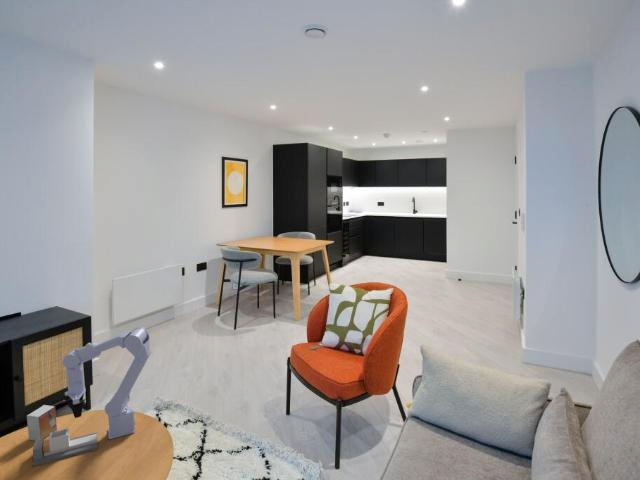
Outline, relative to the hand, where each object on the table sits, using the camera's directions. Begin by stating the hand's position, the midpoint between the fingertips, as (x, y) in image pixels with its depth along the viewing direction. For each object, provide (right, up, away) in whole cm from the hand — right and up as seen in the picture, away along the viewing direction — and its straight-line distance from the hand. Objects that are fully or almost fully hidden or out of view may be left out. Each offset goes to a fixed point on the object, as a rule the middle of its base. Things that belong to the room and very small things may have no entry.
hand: (78, 412), depth 159 cm
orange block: (-5, -9, -12) cm, 15 cm away
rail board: (+1, -11, -8) cm, 14 cm away
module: (-1, -9, -10) cm, 13 cm away
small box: (-14, -10, 0) cm, 17 cm away
